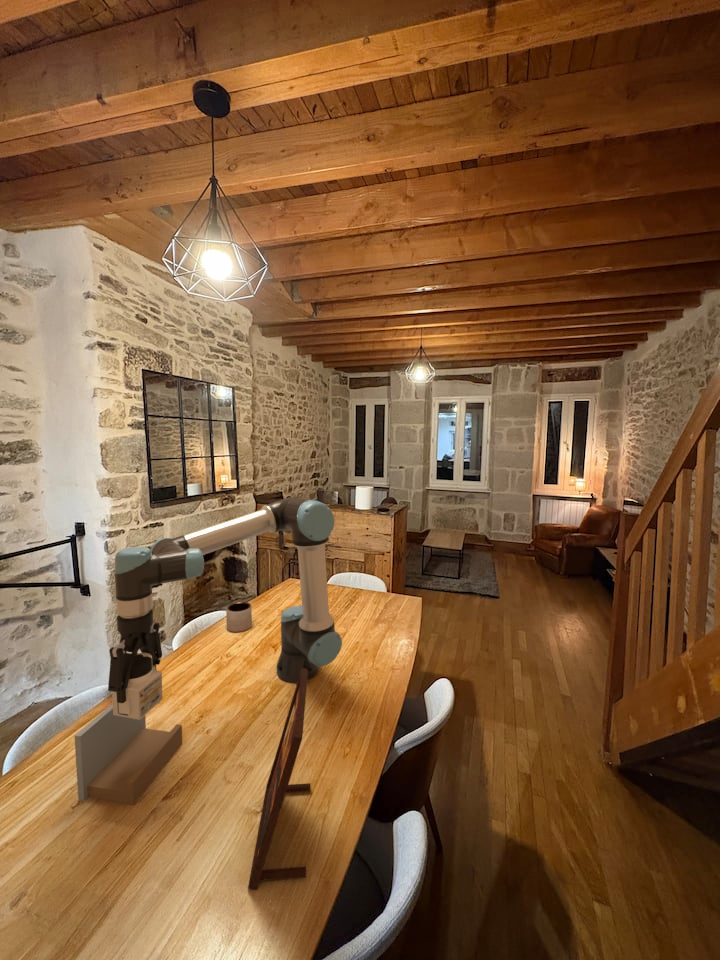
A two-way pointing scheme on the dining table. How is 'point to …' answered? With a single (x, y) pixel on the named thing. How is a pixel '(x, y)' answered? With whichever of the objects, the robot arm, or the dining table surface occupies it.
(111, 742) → the wall shelf
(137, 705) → the container
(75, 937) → the dining table surface
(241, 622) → the planter
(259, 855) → the picture frame
